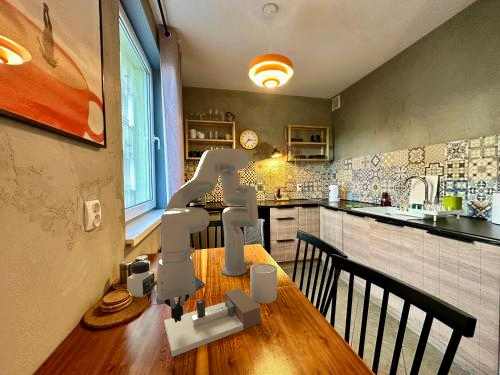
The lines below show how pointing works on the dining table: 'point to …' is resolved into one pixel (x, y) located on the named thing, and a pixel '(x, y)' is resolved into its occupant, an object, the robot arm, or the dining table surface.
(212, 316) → the bolt
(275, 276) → the mug
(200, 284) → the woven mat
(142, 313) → the dining table surface
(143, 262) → the medicine bottle
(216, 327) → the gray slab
